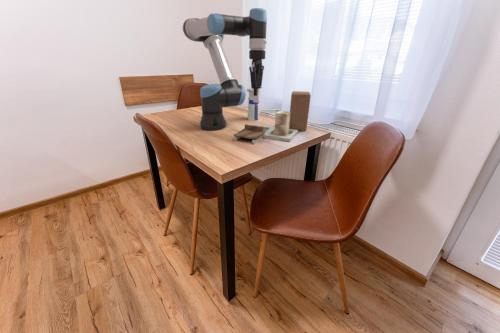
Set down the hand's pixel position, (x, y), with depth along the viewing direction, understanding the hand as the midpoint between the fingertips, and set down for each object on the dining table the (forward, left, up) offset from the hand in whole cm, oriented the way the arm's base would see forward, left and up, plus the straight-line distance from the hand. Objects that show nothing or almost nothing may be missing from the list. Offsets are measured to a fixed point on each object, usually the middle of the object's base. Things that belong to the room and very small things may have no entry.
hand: (256, 102), depth 111 cm
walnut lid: (0, -8, -15) cm, 17 cm away
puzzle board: (+7, -2, -17) cm, 18 cm away
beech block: (+14, +3, -17) cm, 22 cm away
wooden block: (+19, +19, -17) cm, 31 cm away
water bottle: (-13, +28, -17) cm, 35 cm away
